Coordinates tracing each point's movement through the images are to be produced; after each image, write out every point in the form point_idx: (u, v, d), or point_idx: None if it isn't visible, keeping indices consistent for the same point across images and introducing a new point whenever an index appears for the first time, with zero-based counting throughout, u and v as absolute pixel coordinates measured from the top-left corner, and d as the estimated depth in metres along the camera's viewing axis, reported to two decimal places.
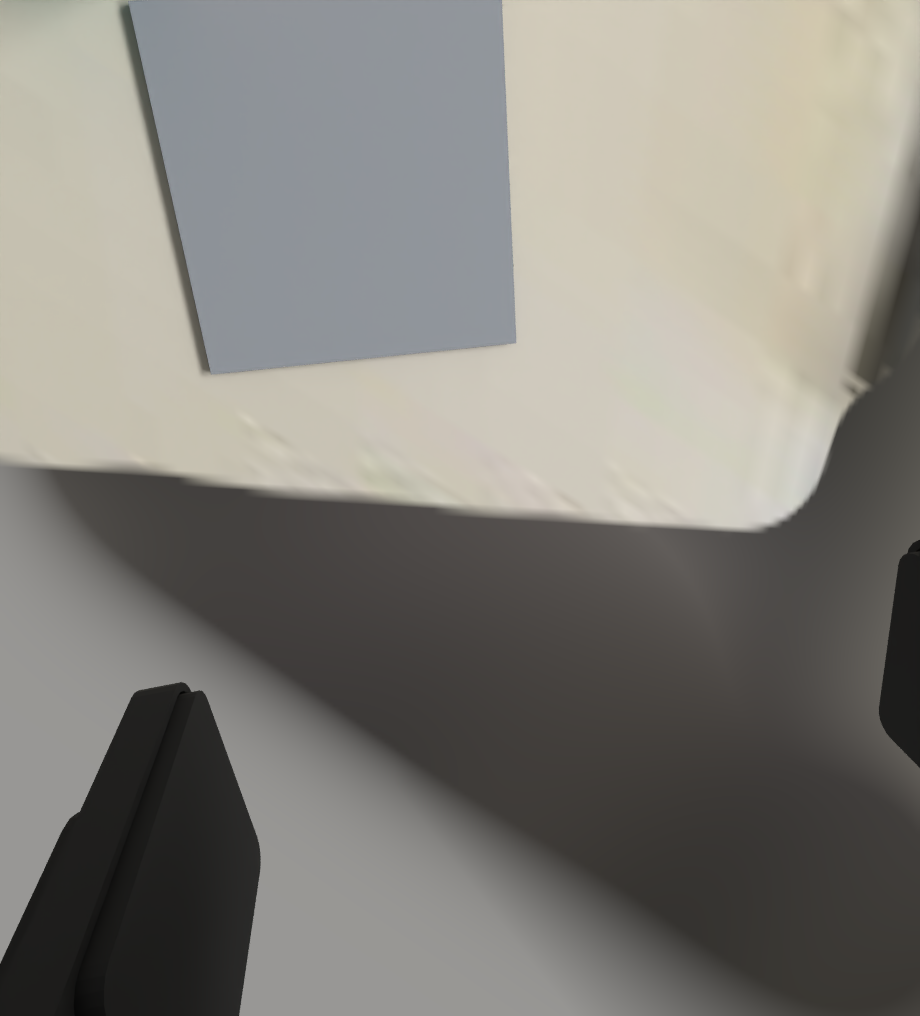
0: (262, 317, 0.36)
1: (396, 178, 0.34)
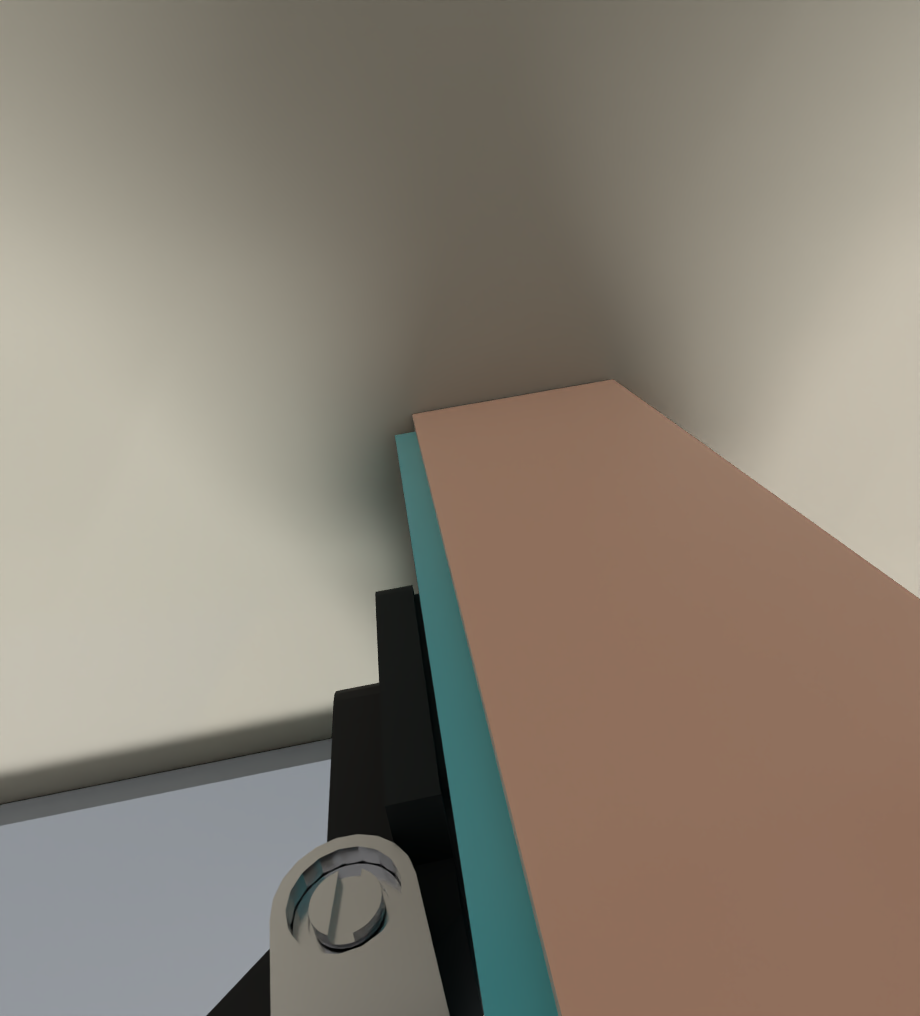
0: None
1: None
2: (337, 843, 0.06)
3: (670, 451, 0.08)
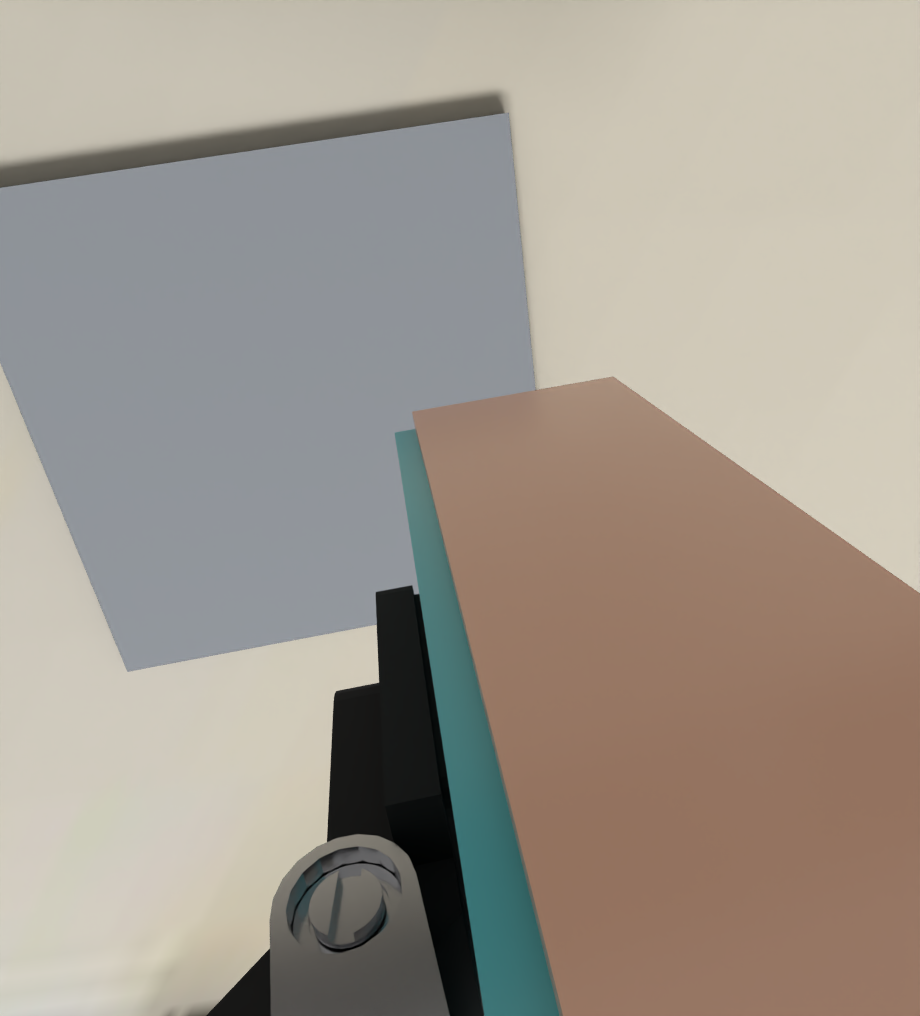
0: (69, 299, 0.21)
1: (323, 494, 0.24)
2: (338, 843, 0.06)
3: (670, 448, 0.08)
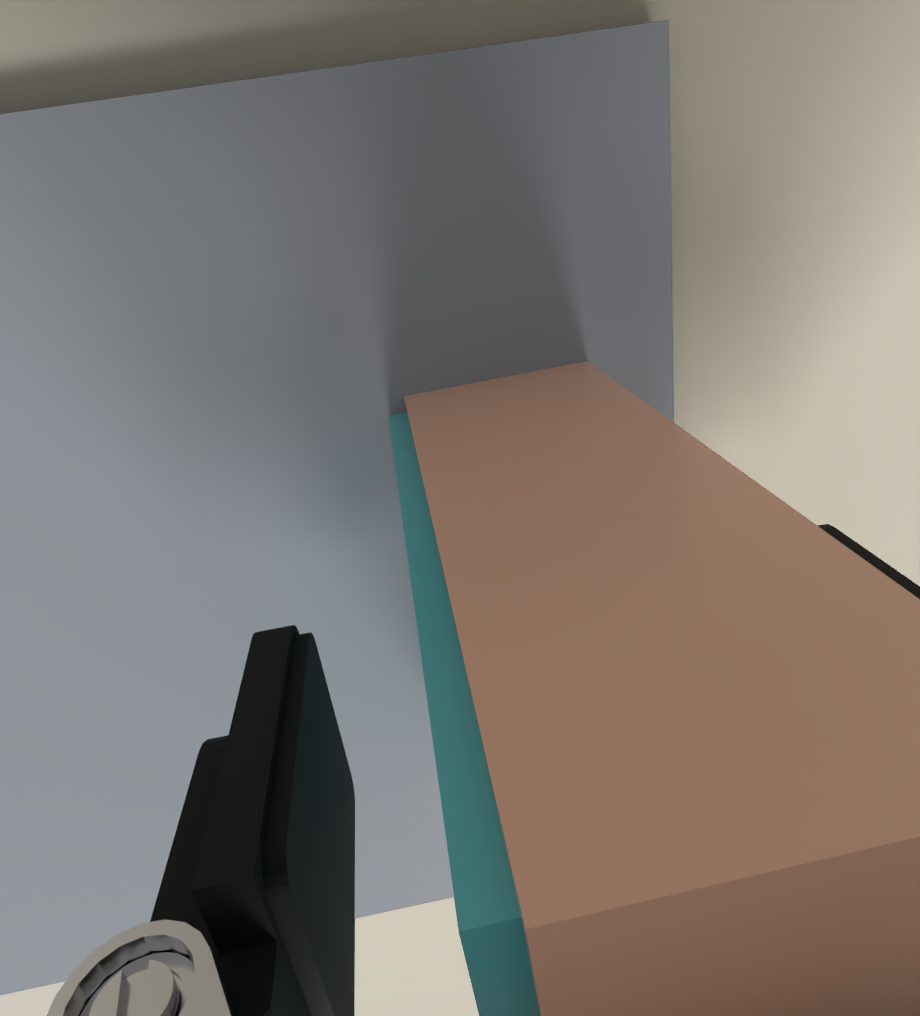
0: None
1: None
2: (139, 931, 0.06)
3: (630, 419, 0.09)
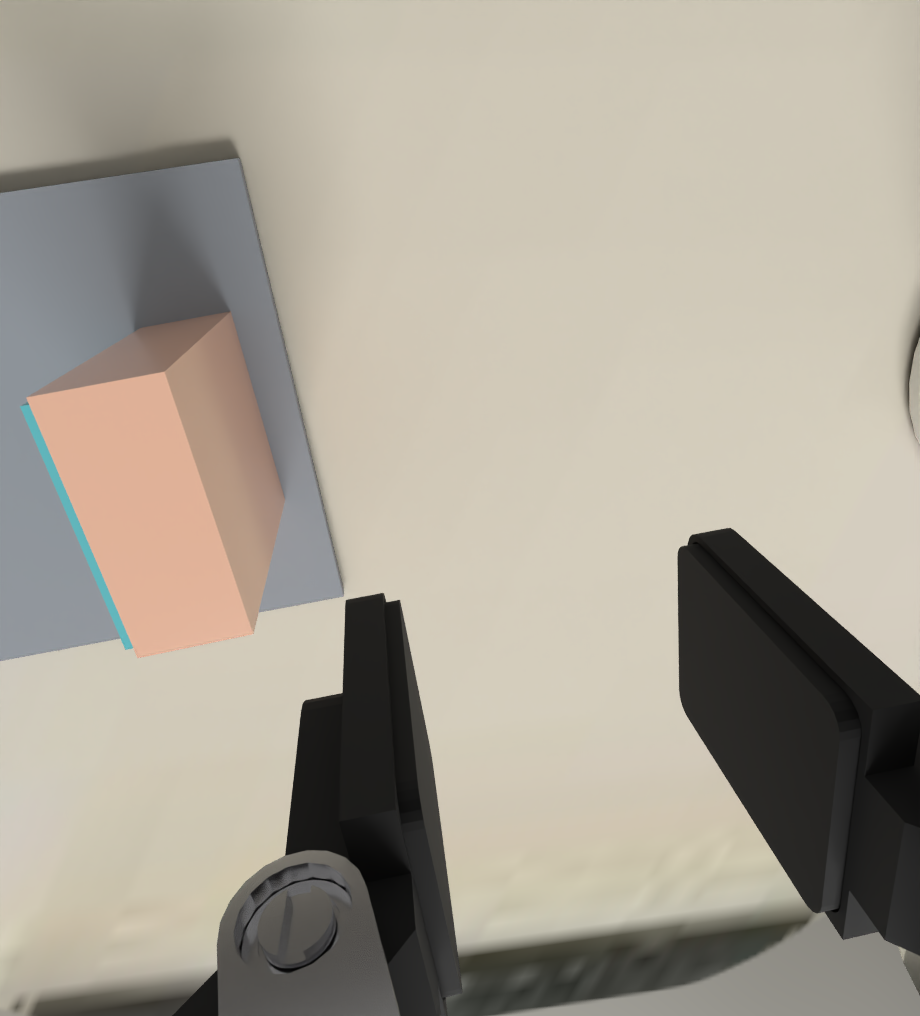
0: None
1: None
2: (291, 859, 0.06)
3: (201, 329, 0.21)
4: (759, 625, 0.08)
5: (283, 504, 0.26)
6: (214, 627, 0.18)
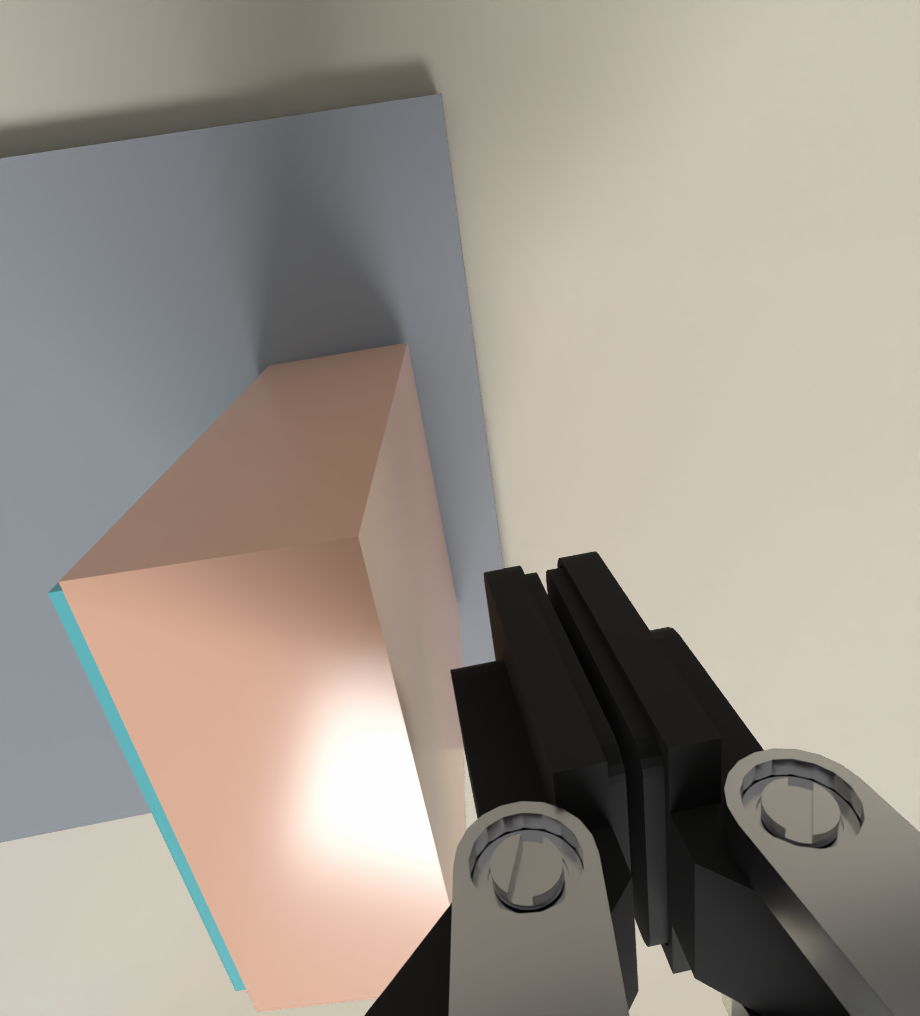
0: None
1: None
2: (506, 810, 0.06)
3: (375, 382, 0.12)
4: (593, 654, 0.08)
5: (460, 629, 0.17)
6: None
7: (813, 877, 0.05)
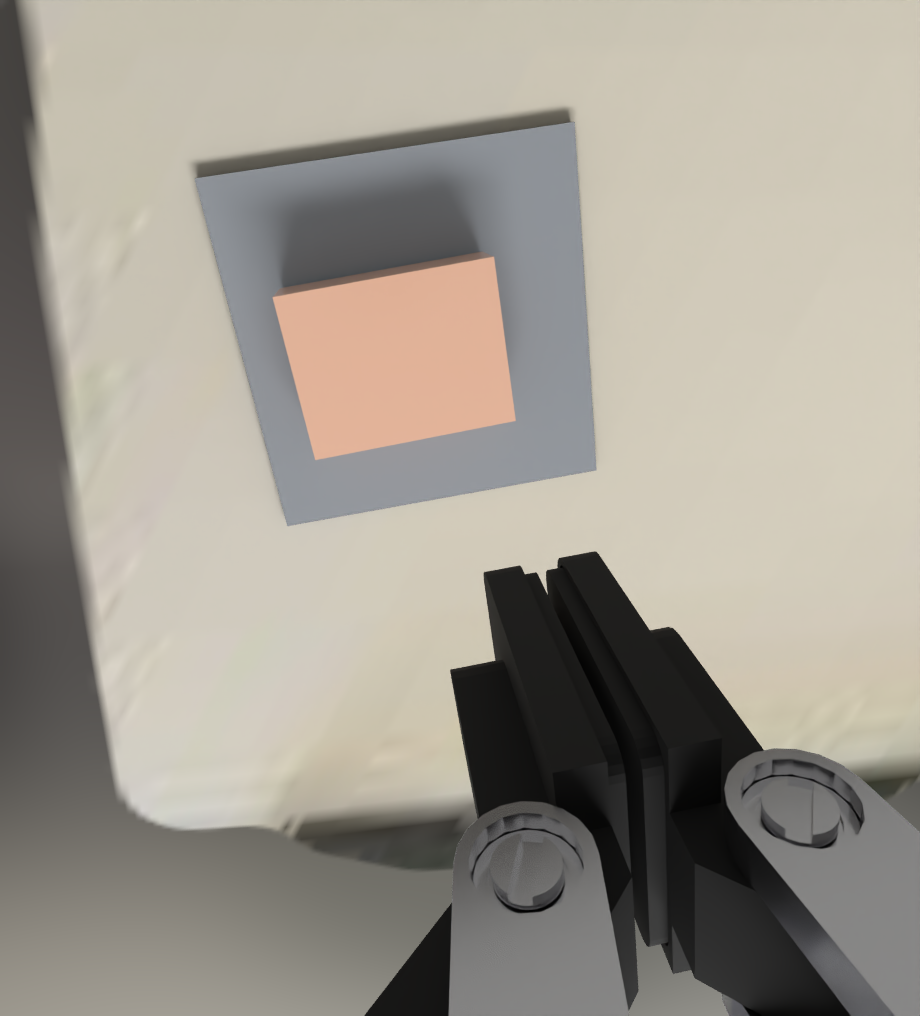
0: (275, 248, 0.31)
1: None
2: (506, 809, 0.06)
3: (418, 269, 0.29)
4: (594, 655, 0.08)
5: (504, 422, 0.32)
6: None
7: (813, 877, 0.05)
